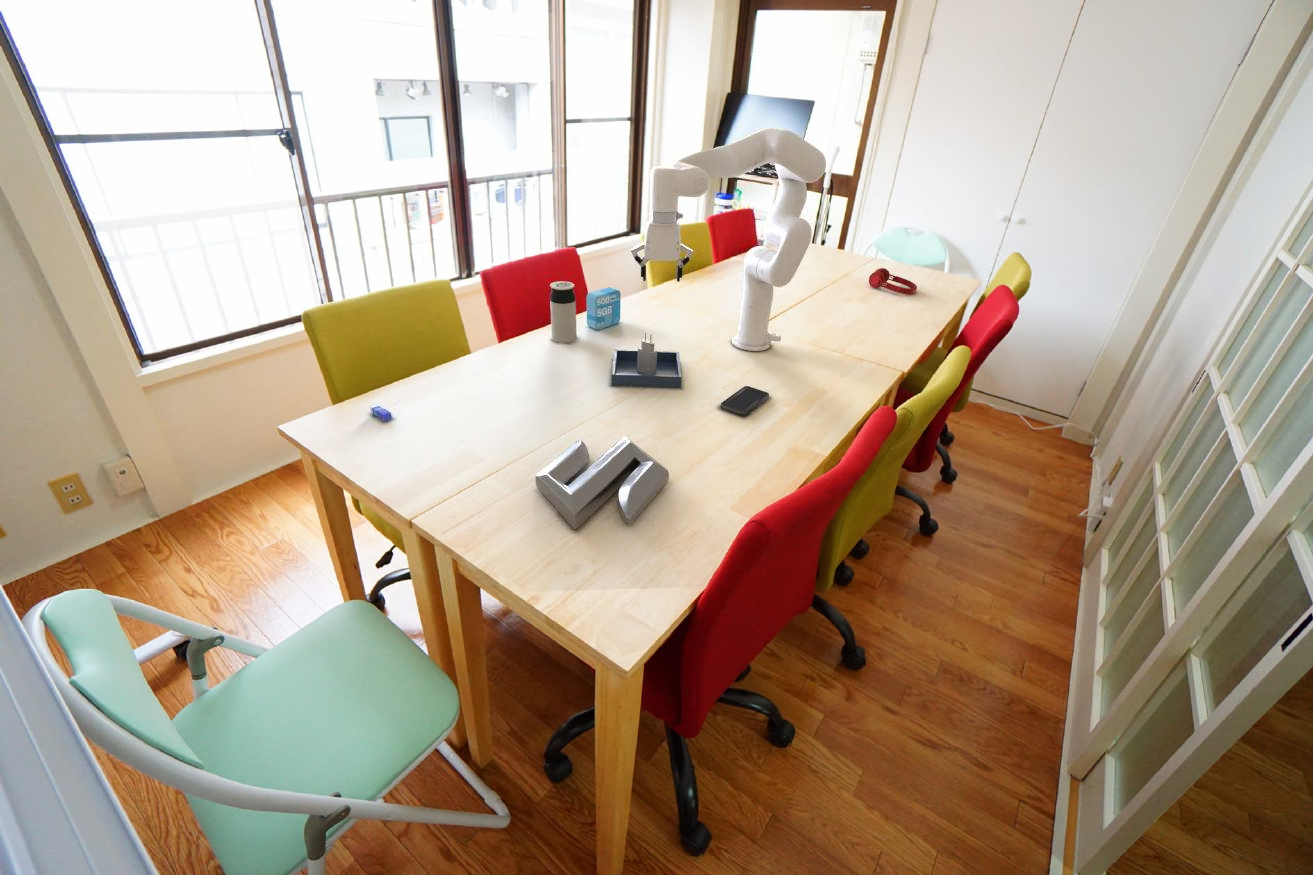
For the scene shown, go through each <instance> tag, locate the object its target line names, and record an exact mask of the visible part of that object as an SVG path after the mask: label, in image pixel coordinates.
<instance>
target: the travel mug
mask: <svg viewBox="0 0 1313 875" xmlns="http://www.w3.org/2000/svg"><path fill="white" fill-rule="evenodd" d="M549 287H550V288H551V289H550V290H551V292H550V293H549V307H550V325H551V326H550V327H551V340H552V341H553V342H556V343H560V344H568V343H569V344H570V343H572V342H574V341H576V340H577V307H576V306H577V304H576V303H577V302H576V301H577V300H576V293H575V291H574V288H575V284H574V283H573V282H571V281H562V280H561V281H554V282H551V283H550V285H549Z"/></svg>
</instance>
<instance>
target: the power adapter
mask: <svg viewBox="0 0 1313 875" xmlns="http://www.w3.org/2000/svg"><path fill="white" fill-rule="evenodd" d="M649 336H650V337H649V339H648V338H647V332H644V338H642V339H641V346H639V347H637V350H638V362H637V371H638V372H640V373H643V374H646V375H654V374H656V367H657V351H658V349H657V348H655V341H653V340H652V333H651V334H650V335H649Z"/></svg>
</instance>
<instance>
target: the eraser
mask: <svg viewBox="0 0 1313 875" xmlns="http://www.w3.org/2000/svg"><path fill="white" fill-rule="evenodd" d="M369 409H370V410H369V411H370V412H371V414H372V415H373V416H376V417H378V418H379V419H381V420H382V421H384V422H387V421H390V420H392V419H393V417H392V412H390V411H389V410H388V409H386V408H384V407H382V406H380V405H378V404H375V405H372V406H370V407H369Z"/></svg>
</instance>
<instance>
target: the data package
mask: <svg viewBox="0 0 1313 875" xmlns="http://www.w3.org/2000/svg"><path fill="white" fill-rule="evenodd" d="M620 321H621V291H620V290H618V289H616V288H613V287H610V286H609V287H604V288H602V289H597V290H594V291H591V292H588V293H587V294H586V325H587V326H588V327H589V328H592V329H594V330H596V331H598V330H599V331H600V330H602V329H605V328H608V327H612V326H614V325H617V324H619V323H620Z"/></svg>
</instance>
